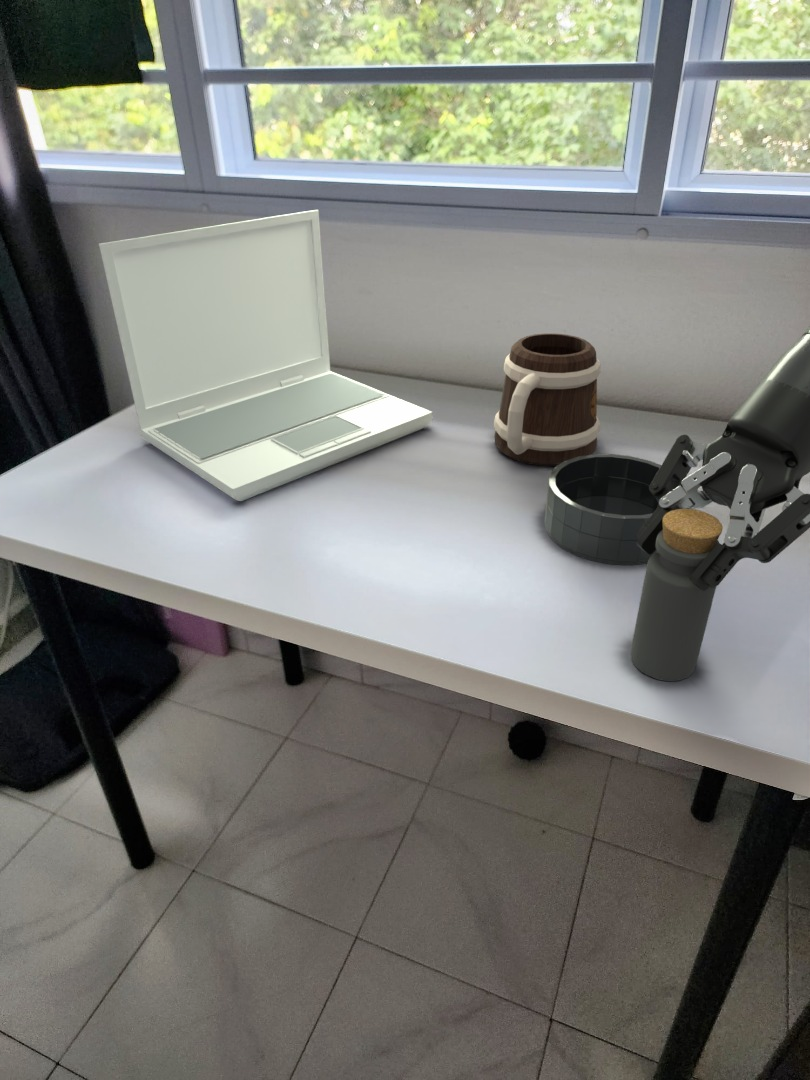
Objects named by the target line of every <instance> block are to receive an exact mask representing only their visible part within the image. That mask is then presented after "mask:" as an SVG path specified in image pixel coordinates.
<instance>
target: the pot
mask: <svg viewBox="0 0 810 1080" xmlns="http://www.w3.org/2000/svg"><path fill="white" fill-rule="evenodd" d="M661 465H662V464H660V463H657V462H654V461H651V460H648V459H644V458H641V457H636V456H632V455H624V454H614V453H599V454H598V453H595V454H594V453H592V454H590V455H586V456H579V457H575V458H573V459H570V460H567V461H564V462H562V463H561V464H559V465H558V466H554V468H553V469H552V471H551V472H550V473H549V475H548V479H547V480H548V482H547V491H546V501H545V512H544V528H545V532H546V533H547V535H548V537H549V538H550V539H551V540H552V541H553V542H554V543H555V544H556V545H557V546H559V547H560V548H561V549H563V550H565V551H566V552H568V553H570V554H572V555H574V556H576V557H579V558H582V559H584V560H587V561H592V562H595V563H601V564H608V565H616V566H617V565H618V566H634V565H644V564H647V563H648V560H649V558H650V557H651V556H652V555H653V554H654V553H656V552H658V551H657V550H655V552H654V553H652V554H650V555H649V554H647V553H646V552H644V551H643V550H642V549H641V548H640V547H639V546H638V545H637V544H636V541H637V539H638V537H637V534H638V532H639V530H640V529H641V527H642V526H643V525H644V524H645V523H646V521H647V520H648V519H649V518H650V516H651V515H652V514H653V513H654V511H655V510H656V509H657V507H658V501H657V500H656V498H655V497H654V495H653V494H652V493H651V492H650V490H649V486H650V484H651V482H652V481H653V479H654V477H655V475H656V474H657V472H658V470H659V469H660V467H661Z"/></svg>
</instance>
